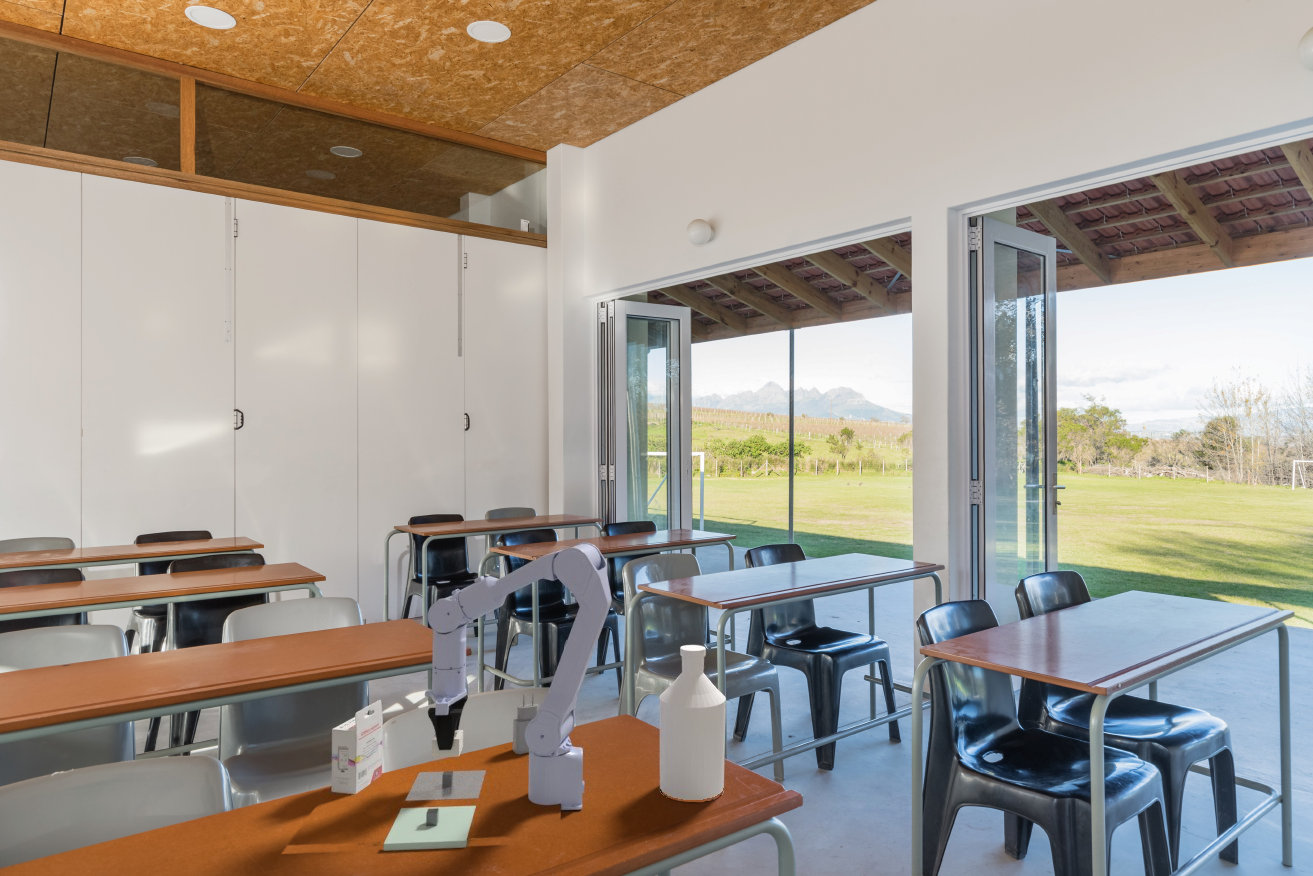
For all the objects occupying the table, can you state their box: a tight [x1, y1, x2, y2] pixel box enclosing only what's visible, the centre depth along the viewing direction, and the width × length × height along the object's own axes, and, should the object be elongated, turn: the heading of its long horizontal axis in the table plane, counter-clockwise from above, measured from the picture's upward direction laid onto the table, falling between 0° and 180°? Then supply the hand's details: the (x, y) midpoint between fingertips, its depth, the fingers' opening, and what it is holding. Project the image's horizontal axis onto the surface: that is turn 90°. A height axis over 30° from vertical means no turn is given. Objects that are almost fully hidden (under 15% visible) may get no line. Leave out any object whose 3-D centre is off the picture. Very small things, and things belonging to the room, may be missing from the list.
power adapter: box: [512, 692, 540, 755], centre depth 154 cm, size 3×5×12 cm, turn 118°
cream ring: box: [431, 729, 464, 758], centre depth 136 cm, size 5×5×3 cm
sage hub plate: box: [383, 805, 477, 852], centre depth 122 cm, size 12×12×3 cm
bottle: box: [659, 644, 727, 800], centre depth 139 cm, size 12×12×25 cm
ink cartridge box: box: [331, 699, 384, 795], centre depth 138 cm, size 9×5×15 cm, turn 168°
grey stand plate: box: [405, 769, 487, 802], centre depth 137 cm, size 12×12×3 cm
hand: (447, 744), depth 136 cm, fingers closed on cream ring, 5 cm apart
